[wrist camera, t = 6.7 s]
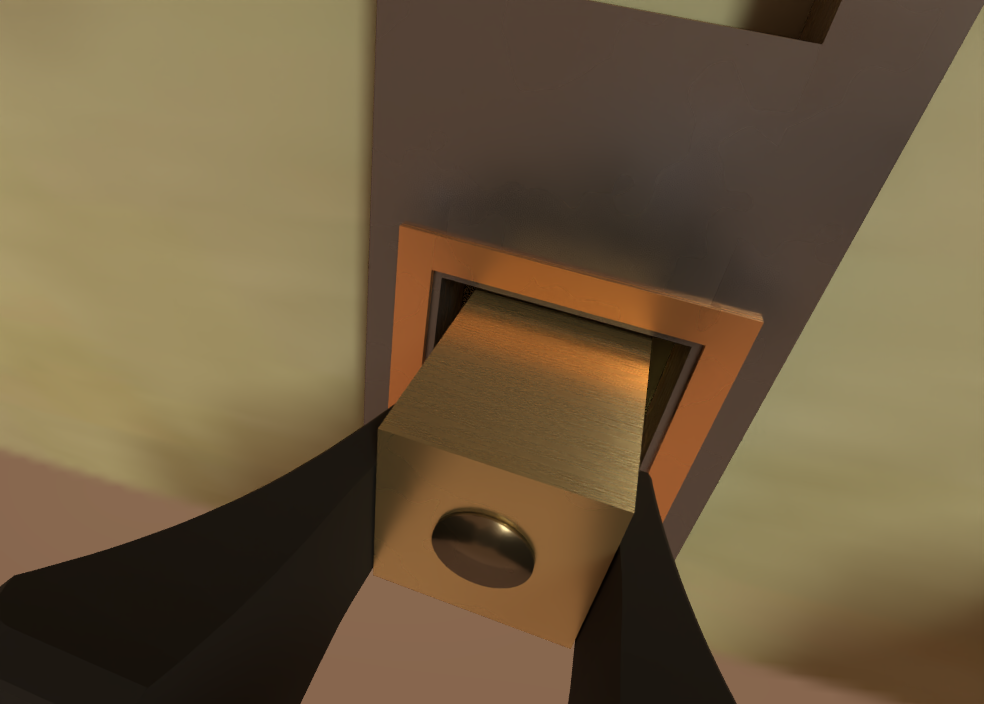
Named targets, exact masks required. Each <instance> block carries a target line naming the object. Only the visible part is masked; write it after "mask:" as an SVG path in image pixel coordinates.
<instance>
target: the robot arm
mask: <svg viewBox="0 0 984 704" xmlns="http://www.w3.org/2000/svg"><path fill="white" fill-rule="evenodd" d="M394 405H395V404H394ZM394 405H392V406H391V407H389V408H388V409H387V410H385V411H384V412H383V413H381V414H380V415H378V416H377V417H376V418H374V419H373V420H371V421H370V422H368V423H367V424H366V425H364V426H363V427H361V428H360V429H358V430H357V431H355V432H354V433H352V434H351V435H349V436H348V437H346V438H345V439H343V440H342V441H340V442H339V443H337V444H336V445H334V446H333V447H331V448H330V449H328V450H326V451H325V452H323V453H322V454H320V455H318V456H317V457H315V458H313V459H311V460H310V461H308V462H306V463H305V464H303V465H301V466H299V467H298V468H296V469H294V470H293V471H291V472H289V473H288V474H286V475H284V476H282V477H280V478H278V479H276V480H275V481H273V482H271V483H269V484H267V485H265V486H263V487H261V488H259V489H257V490H255V491H253V492H251V493H249V494H247V495H245V496H243V497H241V498H239V499H237V500H235V501H232V502H230V503H228V504H226V505H223V506H221V507H219V508H216V509H214V510H212V511H210V512H207V513H205V514H203V515H200V516H198V517H196V518H193V519H191V520H188V521H186V522H183V523H181V524H178V525H176V526H173V527H171V528H168V529H165V530H162V531H160V532H157V533H154V534H151V535H148V536H145V537H142V538H140V539H137V540H134V541H131V542H128V543H125V544H122V545H119V546H116V547H113V548H110V549H107V550H104V551H100V552H97V553H94V554H91V555H87V556H84V557H80V558H77V559H73V560H70V561H66V562H62V563H59V564H55V565H52V566H48V567H45V568H41V569H38V570H34V571H30V572H26V573H22V574H18V575H15V576H13V577H12V578H10V579H9V580H8V581H7V582H5V583H4V584H3V585H1V586H0V704H300V703H301V701H302V699H303V697H304V695H305V693H306V691H307V689H308V687H309V685H310V682H311V680H312V678H313V676H314V674H315V672H316V670H317V668H318V666H319V664H320V662H321V660H322V658H323V656H324V654H325V652H326V650H327V648H328V646H329V644H330V642H331V640H332V638H333V636H334V634H335V632H336V630H337V628H338V625H339V624H340V622H341V620H342V618H343V617H344V614H345V613H346V611H347V609H348V608H349V606H350V604H351V602H352V601H353V599H354V598H355V596H356V594H357V593H358V591H359V589H360V588H361V586H362V584H363V583H364V581H365V580H366V578H367V577H368V575H369V573H370V572H371V570H372V568H373V566H374V534H375V503H376V471H377V439H378V428H379V426H380V425H381V423H382V422H383V421H384V419H385V418H386V416H387V415H388V413H389V412H390V411H391V409H392V408H393V406H394ZM568 704H736V702H735V700H734V698H733V696H732V694H731V692H730V690H729V688H728V686H727V685H726V683H725V680H724V678H723V676H722V674H721V672H720V670H719V668H718V666H717V664H716V662H715V660H714V658H713V655H712V653H711V651H710V649H709V647H708V645H707V642H706V640H705V638H704V636H703V633H702V631H701V629H700V626H699V624H698V622H697V619H696V617H695V614H694V612H693V609H692V607H691V604H690V602H689V599H688V597H687V594H686V592H685V589H684V586H683V584H682V581H681V578H680V575H679V573H678V570H677V567H676V564H675V561H674V558H673V555H672V552H671V549H670V546H669V543H668V540H667V537H666V533H665V530H664V526H663V523H662V519H661V516H660V512H659V508H658V505H657V500H656V496H655V492H654V487H653V482H652V478H651V477H650V475H649V473H647V472H644V471H641V470H639V471H638V481H637V491H636V501H635V511H634V515H633V517H632V519H631V521H630V523H629V525H628V528H627V530H626V532H625V534H624V536H623V538H622V540H621V542H620V545H619V547H618V549H617V551H616V553H615V555H614V557H613V560H612V562H611V564H610V566H609V568H608V570H607V572H606V575H605V577H604V579H603V581H602V583H601V585H600V587H599V590H598V592H597V594H596V596H595V598H594V600H593V602H592V605H591V607H590V609H589V611H588V613H587V615H586V617H585V620H584V622H583V624H582V626H581V628H580V630H579V632H578V634H577V637H576V639H575V648H574V657H573V667H572V678H571V687H570V694H569V702H568Z"/></svg>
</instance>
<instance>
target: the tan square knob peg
mask: <svg viewBox="0 0 984 704" xmlns="http://www.w3.org/2000/svg"><path fill="white" fill-rule="evenodd" d="M651 344H652V336H651V335H647V334H643V333H640V332H636V331H633V330H629V329H625V328H622V327H618V326H615V325H611V324H607V323H604V322H600V321H597V320H593V319H589V318H586V317H582V316H579V315H575V314H571V313H568V312H564V311H561V310H557V309H554V308H550V307H546V306H543V305H539V304H536V303H532V302H528V301H525V300H521V299H518V298H514V297H510V296H507V295H503V294H500V293H496V292H492V291H489V290H485V289H482V288H478V287H477V288H476V290H475V291H474V293H473V294H472V295H471V297H470V298H469V300H468V301H467V302H466V304H465V305H464V307H463V308H462V310H461V311H460V312H459V314H458V315H457V317H456V318H455V320H454V321H453V322H452V324H451V325H450V327H449V328H448V330H447V331H446V332H445V334H444V335H443V337H442V338H441V339H440V341H439V342H438V344H437V345H436V347H435V348H434V349H433V351H432V352H431V354H430V355H429V357H428V358H427V359H426V361H425V362H424V364H423V365H422V367H421V368H420V369H419V371H418V372H417V374H416V375H415V376H414V378H413V379H412V381H411V382H410V384H409V385H408V386H407V388H406V389H405V391H404V392H403V394H402V395H401V396H400V398H399V399H398V401H397V402H396V403H395V405H394V406H393V408H392V409H391V411H390V412H389V413H388V415H387V416H386V418H385V419H384V421H383V422H382V423H381V425H380V426H379V428H378V439H377V471H376V503H375V534H374V566H373V575H374V576H377V577H380V578H382V579H385V580H388V581H390V582H393V583H396V584H398V585H401V586H404V587H407V588H409V589H412V590H414V591H417V592H420V593H423V594H425V595H428V596H430V597H433V598H436V599H439V600H441V601H444V602H447V603H449V604H452V605H454V606H457V607H460V608H463V609H465V610H468V611H470V612H473V613H476V614H479V615H481V616H484V617H487V618H489V619H492V620H495V621H497V622H500V623H503V624H505V625H508V626H511V627H513V628H516V629H519V630H521V631H524V632H527V633H529V634H532V635H535V636H537V637H540V638H543V639H545V640H548V641H551V642H554V643H556V644H559V645H561V646H564V647H567V648H569V649H571V647H572V645H573V643H574V641H575V639H576V637H577V634H578V632H579V630H580V628H581V626H582V624H583V622H584V620H585V617H586V615H587V613H588V611H589V609H590V607H591V605H592V602H593V600H594V598H595V596H596V594H597V592H598V590H599V587H600V585H601V583H602V581H603V579H604V577H605V575H606V572H607V570H608V568H609V566H610V564H611V562H612V560H613V557H614V555H615V553H616V551H617V549H618V547H619V545H620V542H621V540H622V538H623V536H624V534H625V532H626V530H627V528H628V525H629V523H630V521H631V519H632V517H633V515H634V511H635V501H636V491H637V481H638V471H639V462H640V452H641V442H642V432H643V423H644V413H645V403H646V393H647V383H648V374H649V364H650V354H651Z"/></svg>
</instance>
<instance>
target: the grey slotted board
mask: <svg viewBox="0 0 984 704" xmlns="http://www.w3.org/2000/svg"><path fill="white" fill-rule="evenodd" d="M983 5H984V0H815V2H814V4H813V6H812V9H811V11H810V14H809V16H808V19H807V21H806V24H805V26H804V28H803V31H802V33H801V36H800V38H799V39H794V38H788V37H783V36H778V35H772V34H767V33H762V32H756V31H751V30H746V29H740V28H735V27H730V26H724V25H719V24H714V23H708V22H703V21H698V20H692V19H687V18H682V17H677V16H671V15H666V14H661V13H655V12H650V11H645V10H639V9H634V8H629V7H623V6H618V5H613V4H607V3H602V2H597V1H591V0H377V23H376V55H375V86H374V118H373V150H372V181H371V213H370V245H369V276H368V308H367V340H366V372H365V403H364V425H366V424H367V423H368V422H370V421H371V420H373V419H374V418H376V417H377V416H378V415H380V414H381V413H383V412H384V411H385V410H387V409H388V408H389V407H391V406H392V405H394V404H395V403H396V402H397V401H398V399H399V398H400V396H401V395H402V394H403V392H404V391H405V389H406V388H407V386H408V385H409V384H410V382H411V381H412V379H413V378H414V376H415V375H416V374H417V372H418V371H419V369H420V368H421V367H422V365H423V364H424V362H425V361H426V359H427V358H428V357H429V355H430V354H431V352H432V351H433V349H434V348H435V347H436V345H437V344H438V342H439V341H440V339H441V338H442V337H443V335H444V334H445V332H446V331H447V330H448V328H449V327H450V325H451V324H452V322H453V321H454V320H455V318H456V317H457V315H458V314H459V312H460V311H461V306H462V299H463V292H464V285H465V284H467V285H471V286H474V287H478V288H482V289H485V290H489V291H492V292H496V293H500V294H503V295H507V296H510V297H514V298H518V299H521V300H525V301H528V302H532V303H536V304H539V305H543V306H546V307H550V308H554V309H557V310H561V311H564V312H568V313H571V314H575V315H579V316H582V317H586V318H589V319H593V320H597V321H600V322H604V323H607V324H611V325H615V326H618V327H622V328H625V329H629V330H633V331H636V332H640V333H643V334H647V335H651V336H654V337H658V338H661V339H665V340H669V341H672V342H675V344H674V347H673V349H672V351H671V354H670V356H669V359H668V361H667V364H666V366H665V369H664V371H663V373H662V376H661V378H660V381H659V383H658V386H657V388H656V391H655V393H654V395H653V398H652V400H651V403H650V405H649V408H648V410H647V413H646V415H645V417H644V423H643V432H642V442H641V452H640V462H639V470H641V471H644V472H647V473H649V475H650V477H651V478H652V482H653V487H654V492H655V496H656V500H657V505H658V508H659V512H660V516H661V519H662V523H663V526H664V530H665V533H666V537H667V540H668V543H669V546H670V549H671V552H672V555H673V558H674V561H675V559H676V557H677V555H678V553H679V552H680V550H681V548H682V546H683V544H684V543H685V541H686V539H687V537H688V535H689V534H690V532H691V530H692V528H693V526H694V525H695V523H696V521H697V519H698V517H699V516H700V514H701V512H702V510H703V508H704V507H705V505H706V503H707V501H708V499H709V498H710V496H711V494H712V492H713V490H714V489H715V487H716V485H717V483H718V481H719V480H720V478H721V476H722V474H723V472H724V471H725V469H726V467H727V465H728V463H729V462H730V460H731V458H732V456H733V455H734V453H735V451H736V449H737V447H738V446H739V444H740V442H741V440H742V438H743V437H744V435H745V433H746V431H747V429H748V428H749V426H750V424H751V422H752V420H753V419H754V417H755V415H756V413H757V411H758V410H759V408H760V406H761V404H762V402H763V401H764V399H765V397H766V395H767V393H768V392H769V390H770V388H771V386H772V384H773V383H774V381H775V379H776V377H777V375H778V374H779V372H780V370H781V368H782V366H783V365H784V363H785V361H786V359H787V357H788V356H789V354H790V352H791V350H792V348H793V347H794V345H795V343H796V341H797V339H798V338H799V336H800V334H801V332H802V330H803V329H804V327H805V325H806V323H807V321H808V320H809V318H810V316H811V314H812V312H813V311H814V309H815V307H816V305H817V303H818V302H819V300H820V298H821V296H822V294H823V293H824V291H825V289H826V287H827V285H828V284H829V282H830V280H831V278H832V276H833V275H834V273H835V271H836V269H837V267H838V266H839V264H840V262H841V260H842V259H843V257H844V255H845V253H846V251H847V250H848V248H849V246H850V244H851V242H852V241H853V239H854V237H855V235H856V233H857V232H858V230H859V228H860V226H861V224H862V223H863V221H864V219H865V217H866V215H867V214H868V212H869V210H870V208H871V206H872V205H873V203H874V201H875V199H876V197H877V196H878V194H879V192H880V190H881V188H882V187H883V185H884V183H885V181H886V179H887V178H888V176H889V174H890V172H891V170H892V169H893V167H894V165H895V163H896V161H897V160H898V158H899V156H900V154H901V152H902V151H903V149H904V147H905V145H906V143H907V142H908V140H909V138H910V136H911V134H912V133H913V131H914V129H915V127H916V125H917V124H918V122H919V120H920V118H921V116H922V115H923V113H924V111H925V109H926V107H927V106H928V104H929V102H930V100H931V98H932V97H933V95H934V93H935V91H936V89H937V88H938V86H939V84H940V82H941V80H942V79H943V77H944V75H945V73H946V71H947V70H948V68H949V66H950V64H951V63H952V61H953V59H954V57H955V55H956V54H957V52H958V50H959V48H960V46H961V45H962V43H963V41H964V39H965V37H966V36H967V34H968V32H969V30H970V28H971V27H972V25H973V23H974V21H975V19H976V18H977V16H978V14H979V12H980V10H981V9H982V7H983Z"/></svg>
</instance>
